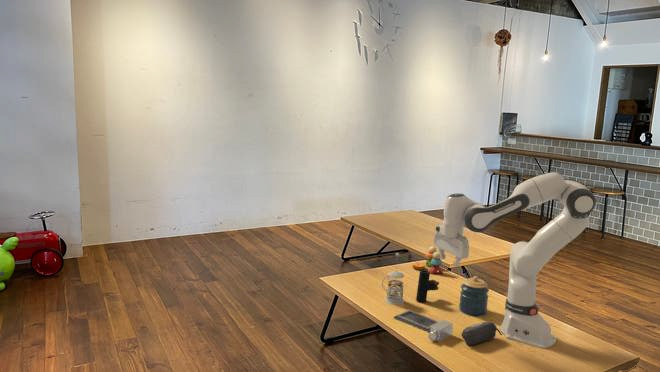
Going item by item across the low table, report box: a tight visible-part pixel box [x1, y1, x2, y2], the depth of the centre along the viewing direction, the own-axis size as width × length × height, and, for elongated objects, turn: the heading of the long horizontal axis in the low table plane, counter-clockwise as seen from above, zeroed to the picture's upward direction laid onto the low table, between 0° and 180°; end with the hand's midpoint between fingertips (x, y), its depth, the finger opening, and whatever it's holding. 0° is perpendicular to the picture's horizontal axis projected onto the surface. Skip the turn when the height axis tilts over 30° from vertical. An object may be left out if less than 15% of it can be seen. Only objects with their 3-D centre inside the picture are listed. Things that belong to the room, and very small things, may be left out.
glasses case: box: [461, 321, 503, 346], centre depth 203 cm, size 18×10×8 cm, turn 123°
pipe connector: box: [415, 269, 440, 303], centre depth 246 cm, size 12×5×15 cm, turn 122°
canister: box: [458, 275, 490, 317], centre depth 234 cm, size 13×13×18 cm
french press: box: [381, 252, 405, 306], centre depth 242 cm, size 10×12×25 cm
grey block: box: [428, 319, 454, 343], centre depth 205 cm, size 4×12×6 cm, turn 136°
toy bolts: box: [411, 246, 444, 275], centre depth 294 cm, size 18×17×12 cm
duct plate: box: [393, 309, 439, 333], centre depth 221 cm, size 19×11×2 cm, turn 44°
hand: (449, 262), depth 210 cm, fingers open, 8 cm apart
